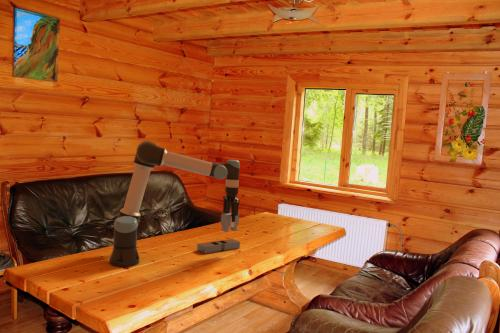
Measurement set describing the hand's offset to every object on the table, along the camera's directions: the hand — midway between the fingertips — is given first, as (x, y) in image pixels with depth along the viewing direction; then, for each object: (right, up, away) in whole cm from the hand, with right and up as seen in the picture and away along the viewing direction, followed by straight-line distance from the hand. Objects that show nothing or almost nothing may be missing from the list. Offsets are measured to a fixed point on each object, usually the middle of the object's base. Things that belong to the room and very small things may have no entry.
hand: (229, 226), depth 253 cm
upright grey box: (0, -3, 0) cm, 3 cm away
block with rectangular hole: (-7, -15, +9) cm, 19 cm away
